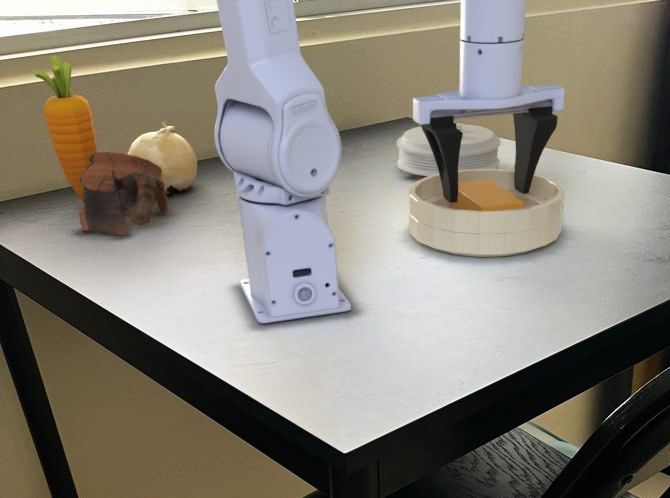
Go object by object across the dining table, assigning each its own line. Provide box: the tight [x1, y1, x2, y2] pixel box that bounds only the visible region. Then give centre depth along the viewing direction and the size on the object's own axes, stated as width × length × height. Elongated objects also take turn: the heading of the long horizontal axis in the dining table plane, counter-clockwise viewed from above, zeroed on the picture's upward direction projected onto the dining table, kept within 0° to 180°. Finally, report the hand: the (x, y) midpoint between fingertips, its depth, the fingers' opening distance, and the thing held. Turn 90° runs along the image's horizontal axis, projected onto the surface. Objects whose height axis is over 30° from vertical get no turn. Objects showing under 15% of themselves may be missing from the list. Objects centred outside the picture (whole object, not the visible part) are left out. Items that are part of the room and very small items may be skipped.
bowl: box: [408, 168, 566, 258], centre depth 87 cm, size 15×15×4 cm
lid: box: [396, 122, 501, 177], centre depth 107 cm, size 13×13×5 cm
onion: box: [127, 121, 198, 196], centre depth 102 cm, size 8×8×7 cm
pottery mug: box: [78, 151, 169, 236], centre depth 92 cm, size 12×10×8 cm
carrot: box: [34, 55, 99, 203], centre depth 95 cm, size 5×5×15 cm
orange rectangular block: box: [450, 179, 524, 211], centre depth 87 cm, size 8×4×4 cm, turn 18°
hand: (486, 195), depth 86 cm, fingers open, 7 cm apart
